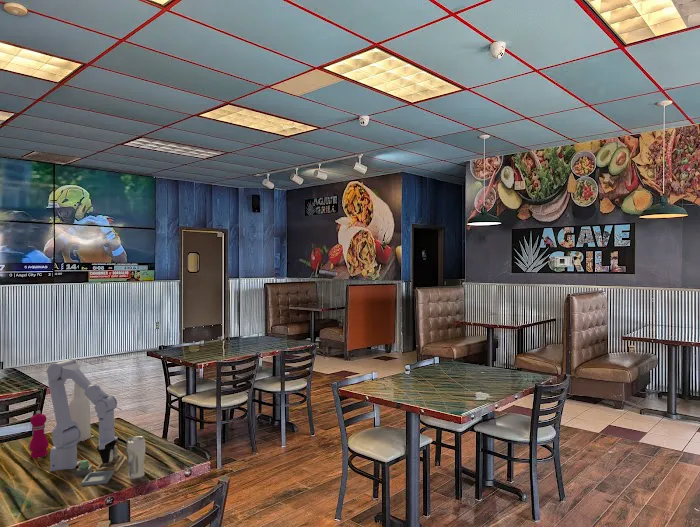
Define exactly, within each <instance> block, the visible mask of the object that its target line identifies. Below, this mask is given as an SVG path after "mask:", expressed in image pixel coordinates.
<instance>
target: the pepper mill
mask: <svg viewBox="0 0 700 527" xmlns="http://www.w3.org/2000/svg"><path fill="white" fill-rule="evenodd" d="M46 422H47V416H46V415H45V414H43V413H42V412H41V410H37V411H35V414H34V415H32V416H31V417H30V424H31V425H32V426H31V430H32V431H33V434H32V438H31V441H30V443H29V446H28V447H29V451H31V453H30V458H31V457H32V459H39V458H38V457H41V458H43V457H42V456H44V457H46V456H47V455H48V454H49V453H48V448H49V445H50V444H49V440H48V438H47V437H46V434H45V429H46ZM45 455H46V456H45Z"/></svg>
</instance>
